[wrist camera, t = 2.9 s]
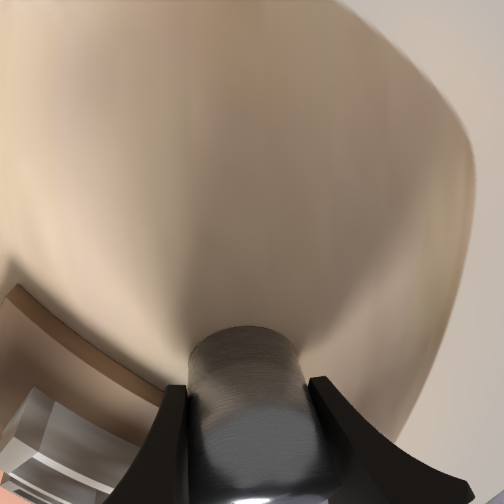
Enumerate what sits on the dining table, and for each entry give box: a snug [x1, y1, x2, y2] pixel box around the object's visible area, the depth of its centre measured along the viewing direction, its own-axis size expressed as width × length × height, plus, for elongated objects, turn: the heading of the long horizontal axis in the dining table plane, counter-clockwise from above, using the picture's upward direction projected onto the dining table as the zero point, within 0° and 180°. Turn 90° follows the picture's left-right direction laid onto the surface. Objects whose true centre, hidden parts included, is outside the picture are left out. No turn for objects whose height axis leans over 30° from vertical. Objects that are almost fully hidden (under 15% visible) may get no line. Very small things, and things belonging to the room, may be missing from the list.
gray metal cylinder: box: [187, 326, 342, 504], centre depth 9 cm, size 4×4×6 cm
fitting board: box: [0, 284, 165, 504], centre depth 12 cm, size 14×20×4 cm
